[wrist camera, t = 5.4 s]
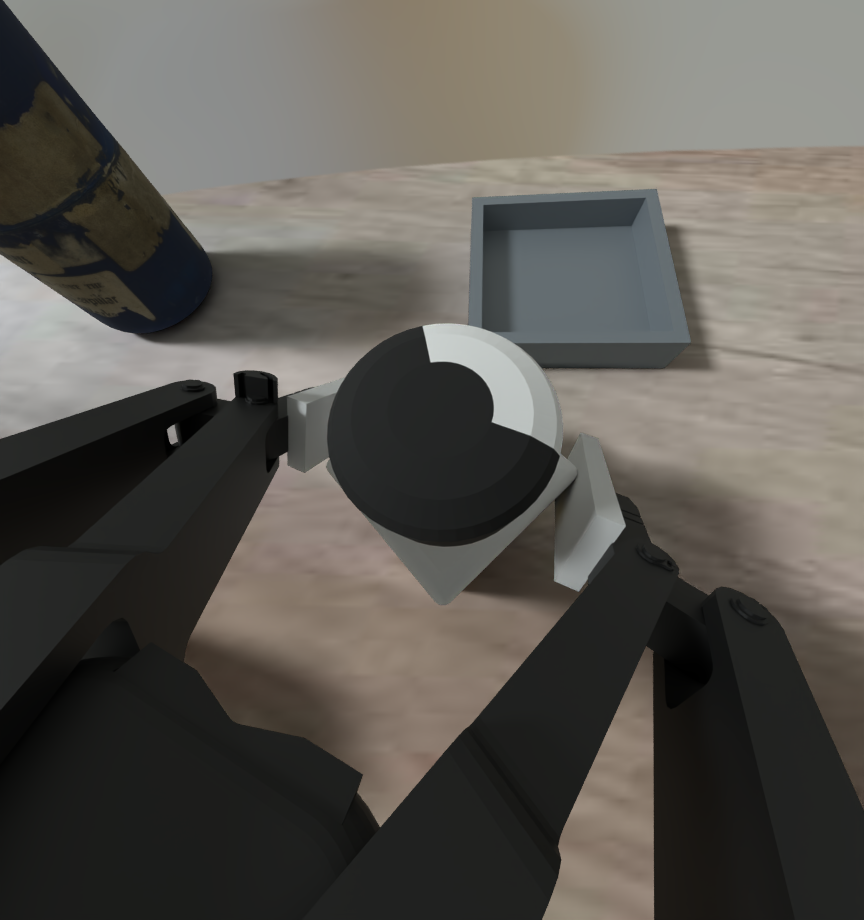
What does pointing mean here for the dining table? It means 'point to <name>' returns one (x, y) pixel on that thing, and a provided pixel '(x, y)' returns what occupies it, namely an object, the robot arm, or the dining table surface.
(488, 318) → the tray
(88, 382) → the dining table surface
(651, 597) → the robot arm
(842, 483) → the dining table surface
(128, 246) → the canister
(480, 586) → the dining table surface
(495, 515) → the medicine bottle
